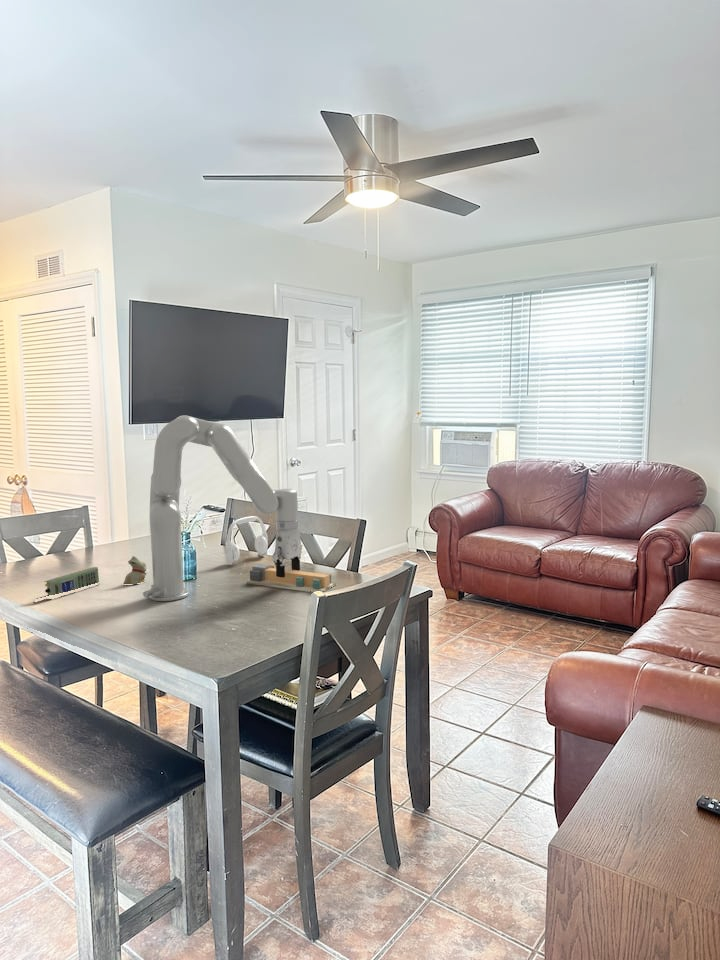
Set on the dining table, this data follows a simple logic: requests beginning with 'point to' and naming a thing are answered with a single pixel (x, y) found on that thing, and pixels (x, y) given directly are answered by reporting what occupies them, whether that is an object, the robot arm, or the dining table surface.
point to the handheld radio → (72, 581)
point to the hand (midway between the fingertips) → (288, 573)
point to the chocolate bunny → (136, 572)
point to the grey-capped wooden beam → (291, 575)
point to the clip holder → (256, 579)
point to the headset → (260, 541)
